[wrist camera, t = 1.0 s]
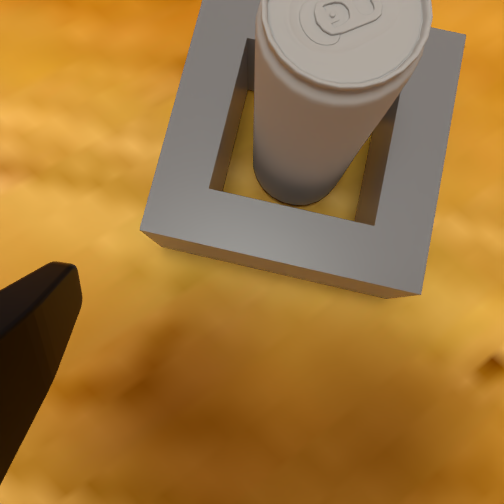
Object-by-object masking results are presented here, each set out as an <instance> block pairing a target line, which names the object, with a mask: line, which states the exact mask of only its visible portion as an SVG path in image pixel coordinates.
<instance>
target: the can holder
mask: <svg viewBox="0 0 504 504" xmlns="http://www.w3.org/2000/svg"><path fill="white" fill-rule="evenodd" d="M260 1H261V0H203V1H202V4H201V8H200V12H199V15H198V19H197V22H196V26H195V30H194V33H193V37H192V41H191V44H190V48H189V51H188V55H187V59H186V62H185V66H184V70H183V73H182V77H181V81H180V84H179V88H178V91H177V95H176V99H175V102H174V106H173V110H172V113H171V117H170V121H169V124H168V128H167V131H166V135H165V139H164V142H163V146H162V150H161V153H160V157H159V161H158V164H157V168H156V171H155V175H154V179H153V182H152V186H151V190H150V193H149V197H148V201H147V204H146V208H145V211H144V215H143V219H142V222H141V226H140V231H142V232H143V233H144V234H146V235H147V236H148V237H149V238H151V239H152V240H153V241H155V242H156V243H157V244H159V245H160V246H161V247H165V248H169V249H174V250H178V251H182V252H187V253H191V254H195V255H200V256H204V257H208V258H213V259H217V260H221V261H226V262H230V263H234V264H239V265H243V266H247V267H252V268H256V269H260V270H265V271H269V272H273V273H278V274H282V275H286V276H291V277H295V278H299V279H304V280H308V281H312V282H317V283H321V284H325V285H329V286H334V287H338V288H342V289H347V290H351V291H355V292H360V293H364V294H368V295H373V296H377V297H381V298H386V299H388V298H397V297H405V296H414V295H421V291H422V286H423V280H424V274H425V268H426V263H427V257H428V251H429V245H430V240H431V234H432V228H433V222H434V217H435V211H436V205H437V199H438V194H439V188H440V182H441V177H442V171H443V165H444V159H445V154H446V148H447V142H448V136H449V131H450V125H451V119H452V113H453V108H454V102H455V96H456V90H457V85H458V79H459V73H460V67H461V62H462V56H463V50H464V44H465V39H466V35H465V34H460V33H455V32H450V31H446V30H441V29H436V28H432V27H430V32H429V37H428V39H427V41H426V43H425V45H424V50H423V54H422V57H421V59H420V60H419V62H418V64H417V66H416V68H415V70H414V72H413V74H412V75H411V77H410V79H409V80H408V82H407V83H406V85H405V86H404V88H403V89H402V91H401V92H400V94H399V95H398V96H397V98H396V99H395V101H394V102H393V104H392V105H391V107H390V108H389V109H388V111H387V112H386V114H385V115H384V117H383V118H382V119H381V121H380V122H379V123H378V125H377V126H376V128H375V129H374V130H373V132H372V137H371V142H370V147H369V152H368V157H367V162H366V167H365V172H364V177H363V182H362V187H361V192H360V197H359V202H358V206H357V211H356V216H355V221H350V220H345V219H341V218H337V217H332V216H328V215H323V214H319V213H315V212H310V211H306V210H301V209H297V208H292V207H288V206H284V205H279V204H275V203H270V202H266V201H261V200H257V199H253V198H248V197H244V196H239V195H235V194H231V193H226V192H222V191H223V187H224V183H225V179H226V175H227V171H228V167H229V163H230V159H231V154H232V150H233V146H234V142H235V138H236V134H237V130H238V126H239V122H240V118H241V114H242V110H243V106H244V102H245V98H246V94H247V90H252V91H254V83H255V28H256V15H257V12H258V8H259V5H260Z"/></svg>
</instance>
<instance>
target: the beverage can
mask: <svg viewBox="0 0 504 504" xmlns="http://www.w3.org/2000/svg"><path fill="white" fill-rule="evenodd" d="M432 18H433V16H432V5H431V0H261V1H260V5H259V8H258V12H257V15H256V28H255V83H254V138H253V167H254V171H255V174H256V177H257V180H258V181H259V183H260V184H261V186H262V187H263V189H264V190H265V191H266V192H268V193H269V194H270V195H271V196H272V197H274V198H276V199H277V200H279V201H281V202H284V203H288V204H292V205H307V204H311V203H314V202H317V201H319V200H320V199H322V198H323V197H325V196H326V195H328V194H329V192H330V191H331V190H332V189H333V188H334V187H335V186H336V184H337V183H338V181H339V180H340V178H341V177H342V175H343V174H344V172H345V171H346V169H347V168H348V166H349V165H350V163H351V162H352V160H353V159H354V157H355V156H356V154H357V153H358V151H359V150H360V148H361V147H362V145H363V144H364V143H365V141H366V140H367V139H368V137H369V136H370V134H371V133H372V132H373V130H374V129H375V128H376V126H377V125H378V123H379V122H380V121H381V119H382V118H383V117H384V115H385V114H386V112H387V111H388V109H389V108H390V107H391V105H392V104H393V102H394V101H395V99H396V98H397V96H398V95H399V94H400V92H401V91H402V89H403V88H404V86H405V85H406V83H407V82H408V80H409V79H410V77H411V75H412V74H413V72H414V70H415V68H416V66H417V64H418V62H419V60H420V59H421V57H422V54H423V50H424V45H425V43H426V41H427V39H428V37H429V32H430V27H431V22H432Z"/></svg>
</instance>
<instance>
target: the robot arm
mask: <svg viewBox="0 0 504 504" xmlns="http://www.w3.org/2000/svg"><path fill="white" fill-rule="evenodd" d="M81 305H82V292H81V286H80V280H79V275H78V270H77V268H76V266H75V265H73V264H70V263H63V262H50V263H48V264H46V265H44V266H43V267H41V268H39V269H37V270H36V271H34V272H32V273H30V274H28V275H27V276H25V277H23V278H21V279H19V280H18V281H16V282H14V283H12V284H11V285H9V286H7V287H5V288H3V289H2V290H0V485H1V483H2V481H3V479H4V477H5V475H6V473H7V471H8V469H9V467H10V465H11V463H12V461H13V459H14V457H15V455H16V453H17V451H18V449H19V447H20V445H21V443H22V442H23V440H24V438H25V436H26V434H27V432H28V430H29V428H30V426H31V424H32V422H33V420H34V418H35V416H36V414H37V412H38V410H39V408H40V406H41V404H42V402H43V400H44V398H45V397H46V395H47V393H48V391H49V388H50V386H51V384H52V382H53V380H54V378H55V375H56V373H57V370H58V368H59V365H60V362H61V360H62V357H63V354H64V352H65V349H66V346H67V344H68V341H69V338H70V336H71V333H72V330H73V328H74V325H75V322H76V320H77V317H78V314H79V311H80V309H81Z"/></svg>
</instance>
